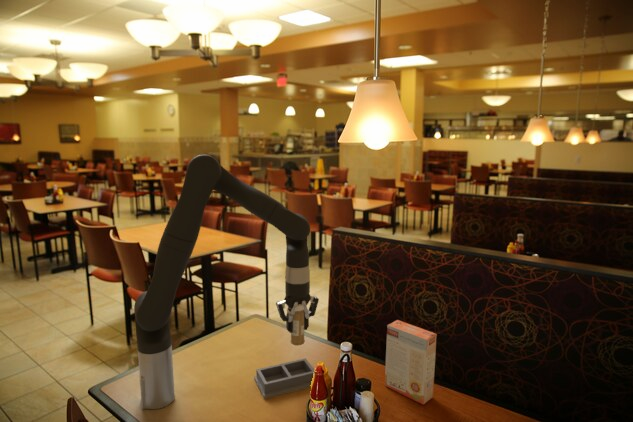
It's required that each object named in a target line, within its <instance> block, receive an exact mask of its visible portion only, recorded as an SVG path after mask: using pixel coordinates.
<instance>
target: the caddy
mask: <svg viewBox="0 0 633 422" xmlns="http://www.w3.org/2000/svg"><path fill="white" fill-rule="evenodd" d="M314 370H315V369H314V367H313V366H312V365H311V363H310V362H309V361H308V359H307V358H301V359H296V360H291V361H288V362H287V361H286V362H283V363H278V364H275V365H270V366H265V367H261V368H256V372H255V373H256V374H255V376H253V379H254V382H255V384H256V386H257V387H258V390H259V391H260V394H261V395H262V397H263V399H264V400H265V399H268V398H269V399H270V398H274V397H279V396H282V395H284V394H288V393H293V392H297V391H301V390H304V389H309V388H311V387H310V385H311V381H312V378H313V372H314Z"/></svg>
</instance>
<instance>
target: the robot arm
mask: <svg viewBox="0 0 633 422" xmlns="http://www.w3.org/2000/svg"><path fill="white" fill-rule="evenodd" d="M213 191H214V192H217V193H219V194H222V195H224V196H225V197H227V198H229V199H230V200H232V201H233V202H235V203H236V204H238V205H239V206H241V207H242V208H244V209H245V210H246V211H247V212H250V214H253V216H255V217H257V218H259V219H261V220H262V221H264V222H266V223H268V224H270V225H272V226H273V227H275V228H276V229H277V230H278V231H280V232H281V233H282V234H283V235H285V243H286V252H285V264H286V265H285V272H284V274H285V275H284V279H285V281H284V283H285V291H284V292H285V297H284V299H283V300H281V301H276V303H275V305H276V308H277V311H278V314H279V318H281V320H282V321H283V322H286V323H285V324H286V325H285V328H286V330H287V332H289V333H290V334H291V333H292V319H293V316H294V314H295V307H297V305H298V304H302V305H303V306H304V331H307V330H308V328H309V325H310V322H309V321H310V318H311V317H314V316H315V314H316V311H317V308H318V304H319V298H318V297H317V296H316V295H312V296H311V294H310V292H311V291H310V288H311V287H310V286H311V280H310V279H311V278H310V277H311V275H310V274H311V273H310V272H311V270H310V250H309V247H308V238H309V236H310V233H311V225H310V222H309V221H308V219H307V218H306V217H305V216H304V215H303V214H301V213H295V212H293V211H292V210H290V209H288V208H286V206H285V205H284V204H282V203H281V202H280V201H278V200H276V199H275V198H273V197H271V196H270V195H268V194H267V193H265V192H263V191H261V190H259V189H257V188H256V187H253V186H252V185H249V184H247V183H246V182H244V181H243V180H241V179H239V178H238V177H236V176H234V175H233V174H232V173H231V172H229V171H228V170H227V169H226V168H224V167H223V166H222V165H221V164H220V162H219V161H218V160H217V159H216V158H215V157H213V156H212V155H209V154H198V155H196V156H194V157H192V159H191V160H189V162H188V164H187V167H186V171H185V177H184V181H183V185H182V188H181V192H180V195H179V199H178V200H177V202H176V205H174V206H175V207H174V209H173V211H172V213H171V215H170V217H169V218H168V221H167V223H166V226H165V228H164V231H163V232H162V236H161V238H160V241H159V243H158V247H157V251H156V256H155V261H154V269H153V273H152V274H153V275H152V277H151V281H150V284H149V287H148V288H147V290H146V291H143V292H142V293H141V294H140V295H138V297H137V298H136V300H135V302H134V306H133V307H134V309H133V310H134V312H133V313H134V323H135V335H136V345H137V346H136V347H137V348H136V349H137V357H138V358H137V359H138V372H139V387H140V397H141V398H140V400H141V410H158V409H162V408H165V407H167V406H168V405H170V404H171V403H172V402H173V401H174V399H175V395H176V394H175V392H176V391H175V378H174V362H173V361H174V360H173V346H172V344H173V343H172V333H171V326H170V317H171V314H172V310H173V306H174V302H175V298H176V295H177V291H178V289H179V288H178V287H179V285H180V282H181V280H182V277H183V275H184V273H185V270H186V269H187V266H188V264H189V261H190V259H191V257H192V254H193V251H194V249H195V246H196V243H197V241H198V237H199V235H200V231H201V227H202V222H203V217H204V214H205V213H204V211H205V210H206V206H207V204H208V202H209V200H210V197H211V195H212V193H213ZM309 302H310V303H309ZM308 305H309V307H308ZM285 306H287V309H286V312H285V310H284V309H285ZM285 313H286V314H285Z"/></svg>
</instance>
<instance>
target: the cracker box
mask: <svg viewBox="0 0 633 422" xmlns="http://www.w3.org/2000/svg"><path fill="white" fill-rule="evenodd" d="M386 327H387V329H386V347H385V348H386V350H385V372H384V373H385V374H384V386H385V387H387V388H389V389H390V390H393V391H394V392H396V393H398V394H400V395H403V396H405V397H407V398H408V399H410V400H411V401H412V400H413V401H415V402H417V403H418V404H421V405H423V406H424V405H425V404H426V403H428V402H429V401H430V400H431V399H433V397H434V387H435V385H434V384H435V366H436V352H437V351H436V349H437V336H438V335H437V333H435V332H433V331H429V330H427V329H424V328H421V327H418V326H416V325H413V324H410V323H407V322H405V321H402V320H400V319H396V320H394V321H393V322H391V323H389V324H387V325H386Z"/></svg>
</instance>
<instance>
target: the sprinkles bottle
mask: <svg viewBox="0 0 633 422" xmlns="http://www.w3.org/2000/svg"><path fill="white" fill-rule="evenodd" d="M290 343H291V344H292V345H293V346H302V345H303V344H304V343H305V330H304V306H303V305H302V304H298V305H297V307H295V314H294V316H293V319H292V333H290Z"/></svg>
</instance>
